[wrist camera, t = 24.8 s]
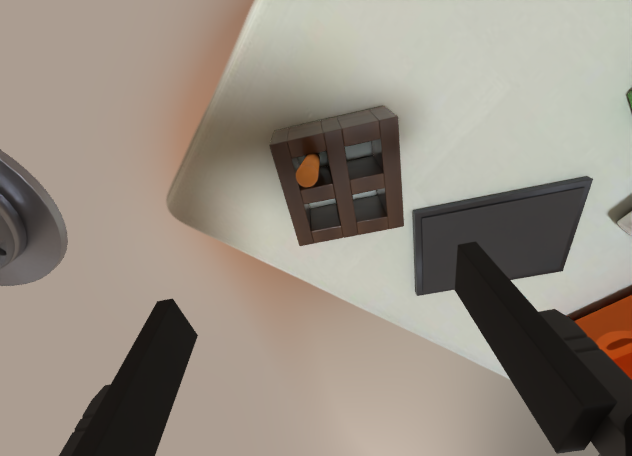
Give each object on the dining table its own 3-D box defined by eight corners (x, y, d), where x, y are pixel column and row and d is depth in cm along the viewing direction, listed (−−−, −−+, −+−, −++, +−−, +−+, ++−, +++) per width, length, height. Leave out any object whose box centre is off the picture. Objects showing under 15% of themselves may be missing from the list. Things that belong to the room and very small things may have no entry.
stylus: (308, 165, 31) (297, 191, 18) (305, 152, 31) (292, 168, 17) (321, 162, 31) (320, 186, 18) (318, 149, 31) (315, 163, 17)
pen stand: (300, 222, 35) (299, 246, 31) (274, 130, 29) (269, 144, 25) (391, 204, 34) (404, 226, 30) (384, 105, 28) (398, 116, 24)
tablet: (415, 292, 42) (417, 297, 42) (412, 210, 35) (415, 214, 34) (558, 267, 41) (563, 272, 40) (587, 176, 33) (594, 179, 32)
